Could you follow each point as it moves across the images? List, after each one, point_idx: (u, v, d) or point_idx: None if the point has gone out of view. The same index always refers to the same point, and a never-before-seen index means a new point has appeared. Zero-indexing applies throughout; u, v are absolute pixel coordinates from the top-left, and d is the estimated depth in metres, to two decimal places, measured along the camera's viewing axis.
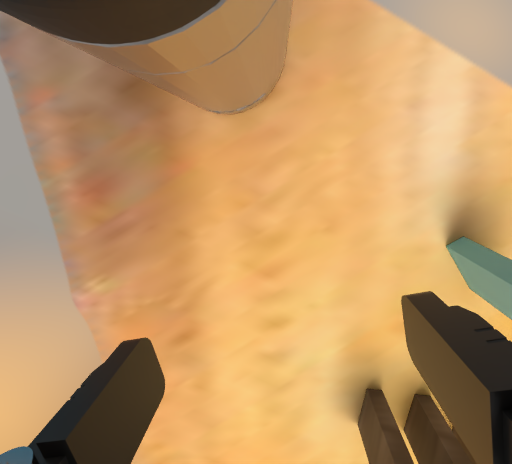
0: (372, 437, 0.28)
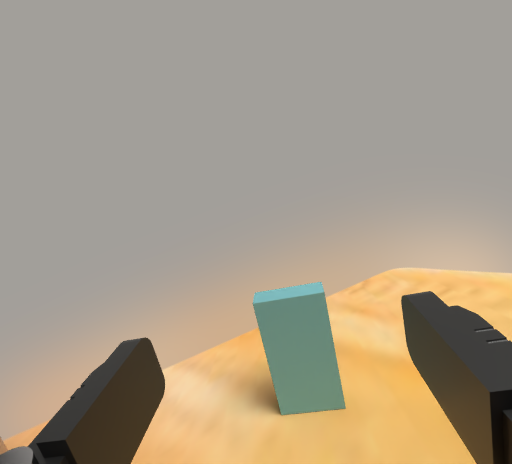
0: None
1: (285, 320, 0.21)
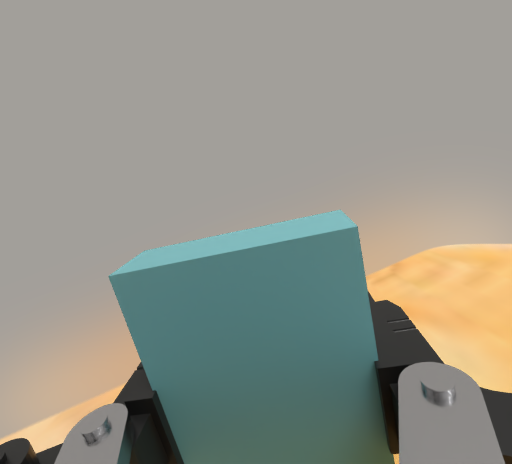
0: None
1: (222, 333, 0.06)
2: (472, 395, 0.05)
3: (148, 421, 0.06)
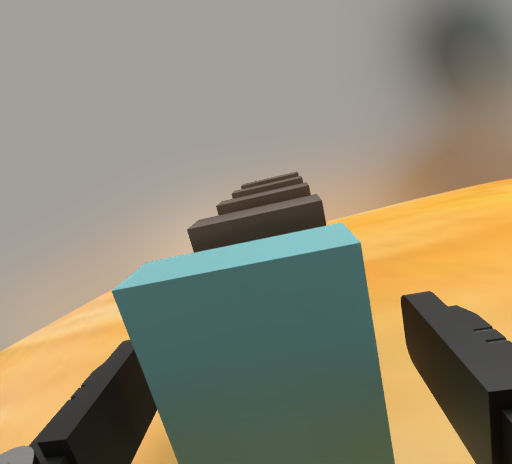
0: None
1: (225, 347, 0.06)
2: None
3: None
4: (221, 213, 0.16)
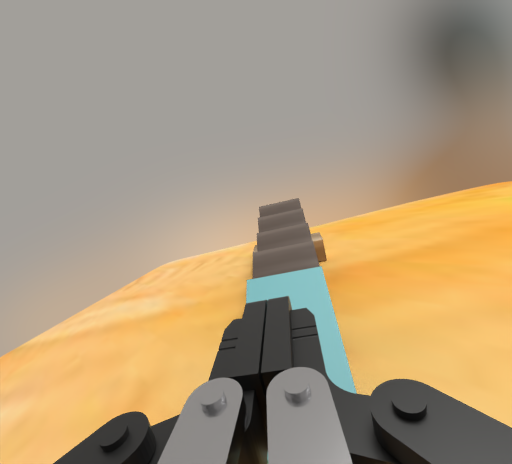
0: None
1: (277, 294, 0.18)
2: (321, 388, 0.05)
3: (254, 397, 0.06)
4: (258, 235, 0.28)
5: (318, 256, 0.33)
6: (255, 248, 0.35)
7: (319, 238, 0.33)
